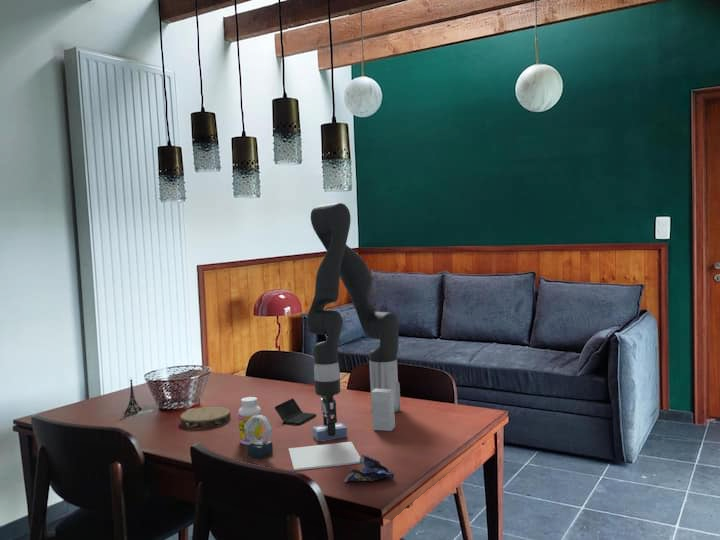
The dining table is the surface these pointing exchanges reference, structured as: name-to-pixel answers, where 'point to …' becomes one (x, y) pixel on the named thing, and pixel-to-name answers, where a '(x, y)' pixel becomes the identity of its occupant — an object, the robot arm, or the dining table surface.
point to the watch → (258, 446)
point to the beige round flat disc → (205, 417)
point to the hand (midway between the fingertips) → (329, 431)
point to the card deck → (322, 432)
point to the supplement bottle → (245, 413)
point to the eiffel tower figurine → (134, 406)
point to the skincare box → (383, 409)
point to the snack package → (369, 471)
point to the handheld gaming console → (292, 413)
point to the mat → (323, 456)
